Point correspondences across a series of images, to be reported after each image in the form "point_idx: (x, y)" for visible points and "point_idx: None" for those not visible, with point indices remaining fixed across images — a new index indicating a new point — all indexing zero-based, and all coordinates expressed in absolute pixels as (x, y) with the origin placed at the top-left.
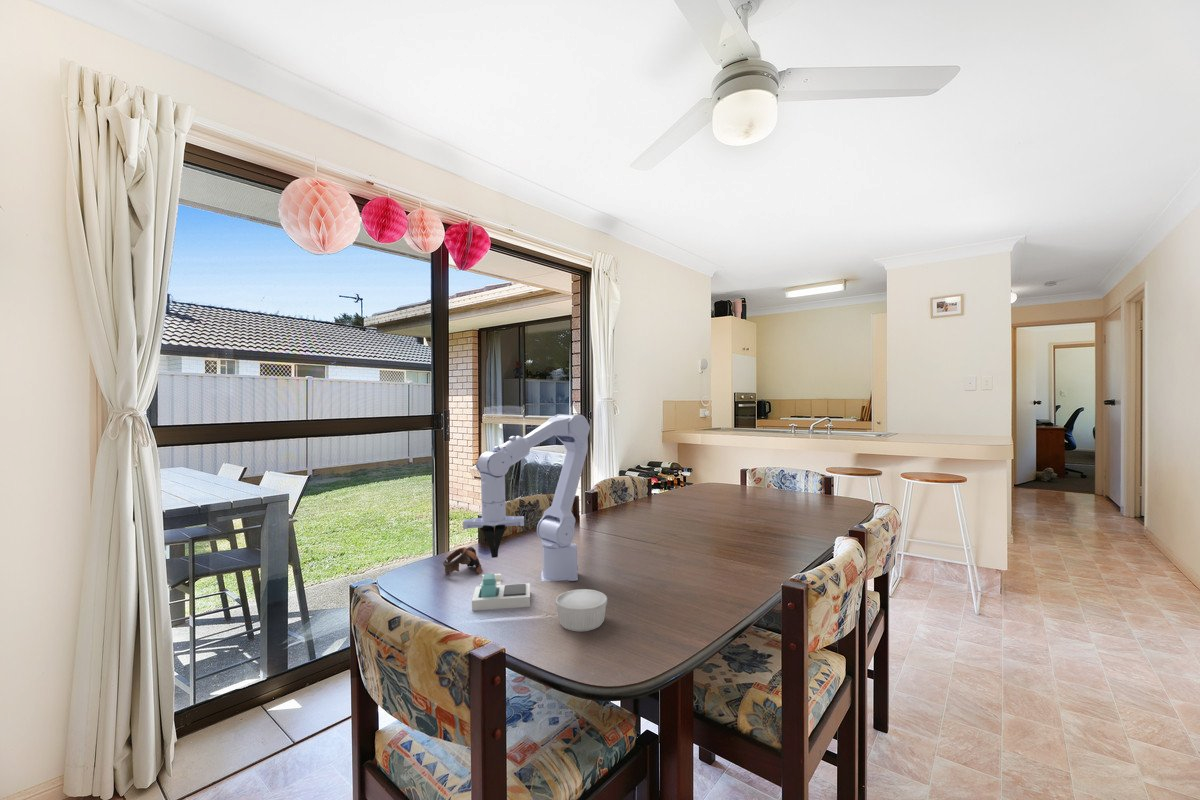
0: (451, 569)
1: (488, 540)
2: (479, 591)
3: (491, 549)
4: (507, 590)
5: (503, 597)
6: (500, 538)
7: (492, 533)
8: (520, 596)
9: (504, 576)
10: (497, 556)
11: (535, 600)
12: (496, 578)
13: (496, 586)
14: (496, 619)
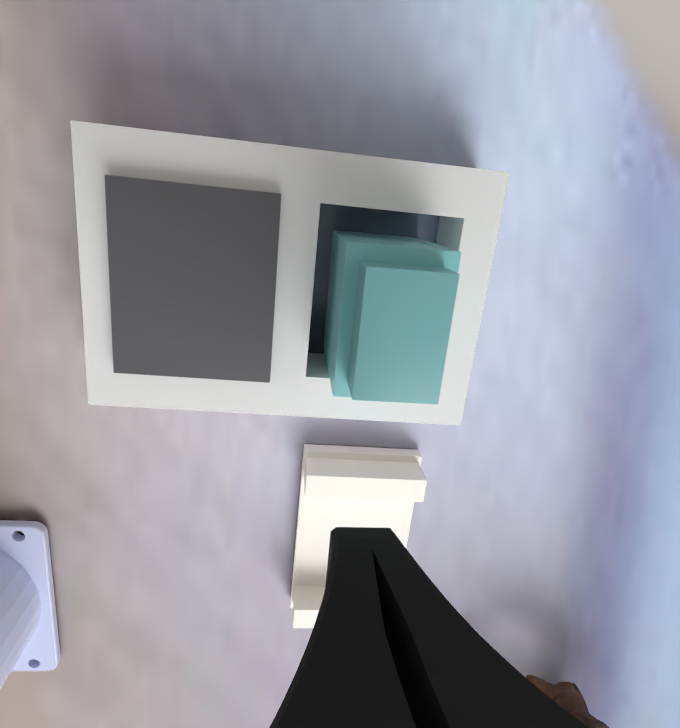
0: (569, 694)
1: (518, 689)
2: None
3: (420, 583)
4: (250, 272)
5: (282, 167)
6: (296, 718)
7: None
8: (149, 151)
9: (273, 648)
10: (332, 533)
11: (76, 272)
12: (319, 594)
13: (329, 366)
14: (334, 20)
